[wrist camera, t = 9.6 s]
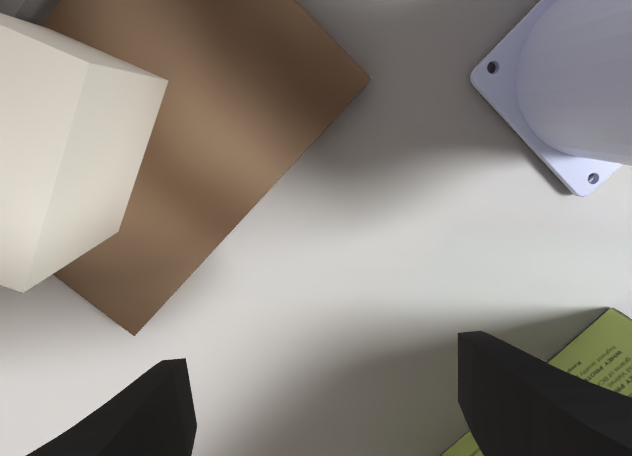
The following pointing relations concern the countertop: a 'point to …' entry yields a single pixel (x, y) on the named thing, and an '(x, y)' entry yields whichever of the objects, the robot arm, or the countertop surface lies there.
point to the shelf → (200, 127)
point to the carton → (65, 147)
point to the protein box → (586, 364)
